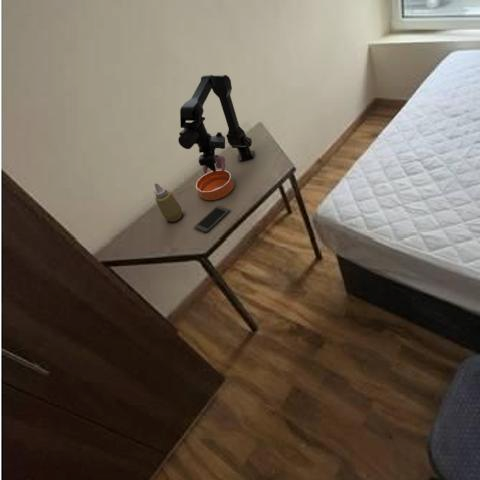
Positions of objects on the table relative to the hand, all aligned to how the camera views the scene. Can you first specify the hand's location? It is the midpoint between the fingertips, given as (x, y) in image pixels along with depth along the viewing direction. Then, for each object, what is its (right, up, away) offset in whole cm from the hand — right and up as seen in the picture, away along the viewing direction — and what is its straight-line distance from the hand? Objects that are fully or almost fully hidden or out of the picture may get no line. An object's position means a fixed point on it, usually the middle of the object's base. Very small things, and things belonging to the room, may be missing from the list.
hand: (215, 167), depth 171 cm
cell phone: (+1, -23, -8) cm, 24 cm away
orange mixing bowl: (-1, -9, +8) cm, 12 cm away
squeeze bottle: (-16, -22, -1) cm, 27 cm away
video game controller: (0, -1, +1) cm, 1 cm away
